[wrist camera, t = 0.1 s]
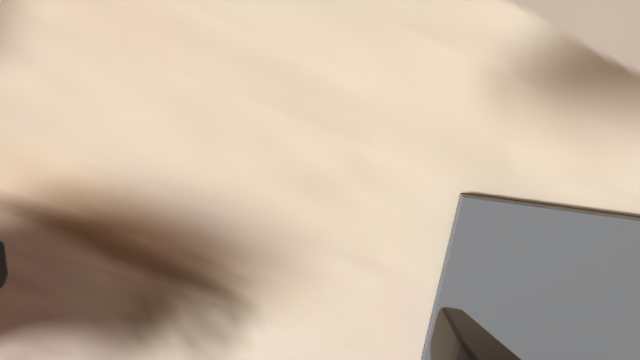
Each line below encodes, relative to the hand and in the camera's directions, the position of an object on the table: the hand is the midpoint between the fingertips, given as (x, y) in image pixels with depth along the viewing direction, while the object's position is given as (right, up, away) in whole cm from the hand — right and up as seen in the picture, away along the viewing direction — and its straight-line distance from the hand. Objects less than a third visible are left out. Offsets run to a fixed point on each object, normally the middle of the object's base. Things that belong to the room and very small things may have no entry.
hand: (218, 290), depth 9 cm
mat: (+16, -5, +16) cm, 23 cm away
